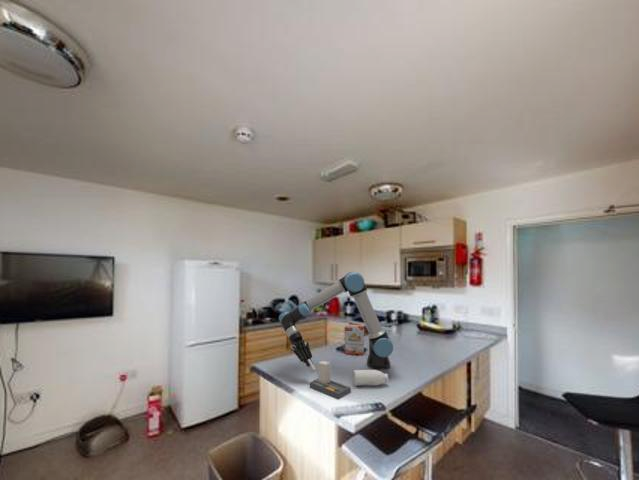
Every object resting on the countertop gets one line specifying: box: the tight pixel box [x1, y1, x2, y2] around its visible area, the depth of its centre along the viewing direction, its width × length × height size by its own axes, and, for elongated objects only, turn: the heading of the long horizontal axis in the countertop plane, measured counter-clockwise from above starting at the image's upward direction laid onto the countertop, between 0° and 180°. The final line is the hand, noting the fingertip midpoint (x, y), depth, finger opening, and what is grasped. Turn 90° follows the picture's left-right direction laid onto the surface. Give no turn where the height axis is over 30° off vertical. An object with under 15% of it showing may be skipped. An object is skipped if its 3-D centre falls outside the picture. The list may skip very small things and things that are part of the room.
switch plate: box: [309, 378, 352, 400], centre depth 145 cm, size 20×10×4 cm, turn 46°
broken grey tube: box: [352, 369, 389, 387], centre depth 151 cm, size 8×19×8 cm, turn 90°
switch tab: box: [317, 360, 331, 384], centre depth 148 cm, size 5×4×10 cm
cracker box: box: [344, 323, 365, 356], centre depth 207 cm, size 14×6×21 cm, turn 81°
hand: (313, 370), depth 154 cm, fingers closed
